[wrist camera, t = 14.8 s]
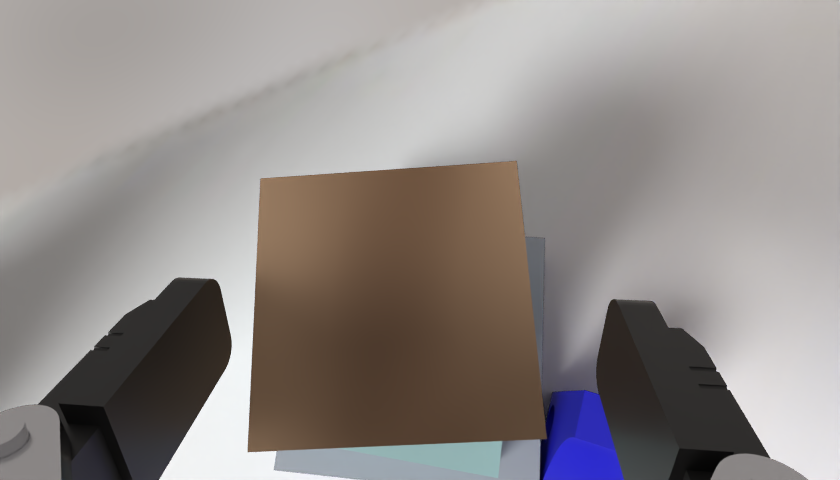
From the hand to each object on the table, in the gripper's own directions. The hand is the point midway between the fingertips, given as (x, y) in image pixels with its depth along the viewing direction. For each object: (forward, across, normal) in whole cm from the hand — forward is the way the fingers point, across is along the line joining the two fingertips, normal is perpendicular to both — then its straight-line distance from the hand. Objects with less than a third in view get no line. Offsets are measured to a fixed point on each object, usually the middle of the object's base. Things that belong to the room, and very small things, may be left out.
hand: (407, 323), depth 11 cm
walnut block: (+6, 0, +5) cm, 7 cm away
